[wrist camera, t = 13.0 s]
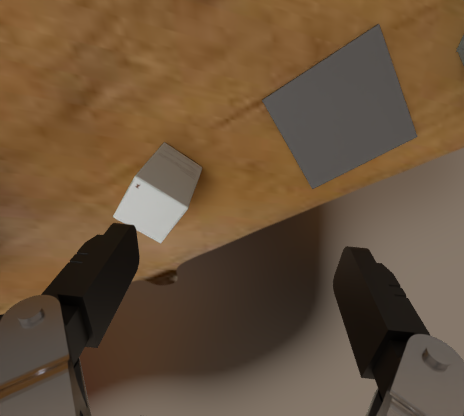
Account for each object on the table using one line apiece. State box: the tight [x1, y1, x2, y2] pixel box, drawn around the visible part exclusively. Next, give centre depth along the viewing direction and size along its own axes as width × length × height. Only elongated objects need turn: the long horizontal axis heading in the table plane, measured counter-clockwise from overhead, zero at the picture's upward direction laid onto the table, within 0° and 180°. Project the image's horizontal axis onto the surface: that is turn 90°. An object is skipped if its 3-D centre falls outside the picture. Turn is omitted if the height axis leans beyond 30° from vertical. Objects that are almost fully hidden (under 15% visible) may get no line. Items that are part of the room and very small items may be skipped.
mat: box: [262, 24, 417, 189], centre depth 39 cm, size 16×16×1 cm
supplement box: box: [113, 142, 202, 243], centre depth 40 cm, size 7×7×13 cm
